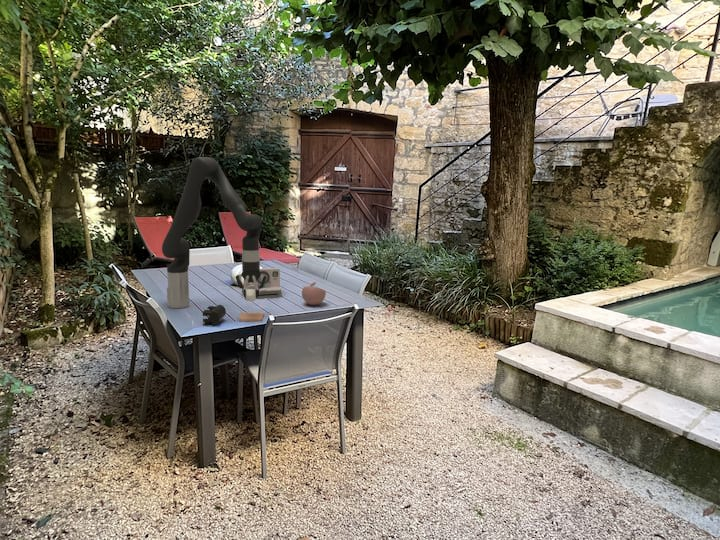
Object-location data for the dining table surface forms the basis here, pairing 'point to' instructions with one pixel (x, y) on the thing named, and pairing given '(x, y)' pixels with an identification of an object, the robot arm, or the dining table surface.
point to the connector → (251, 293)
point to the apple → (313, 294)
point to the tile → (251, 317)
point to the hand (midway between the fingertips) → (251, 297)
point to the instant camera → (269, 284)
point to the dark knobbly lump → (214, 314)
